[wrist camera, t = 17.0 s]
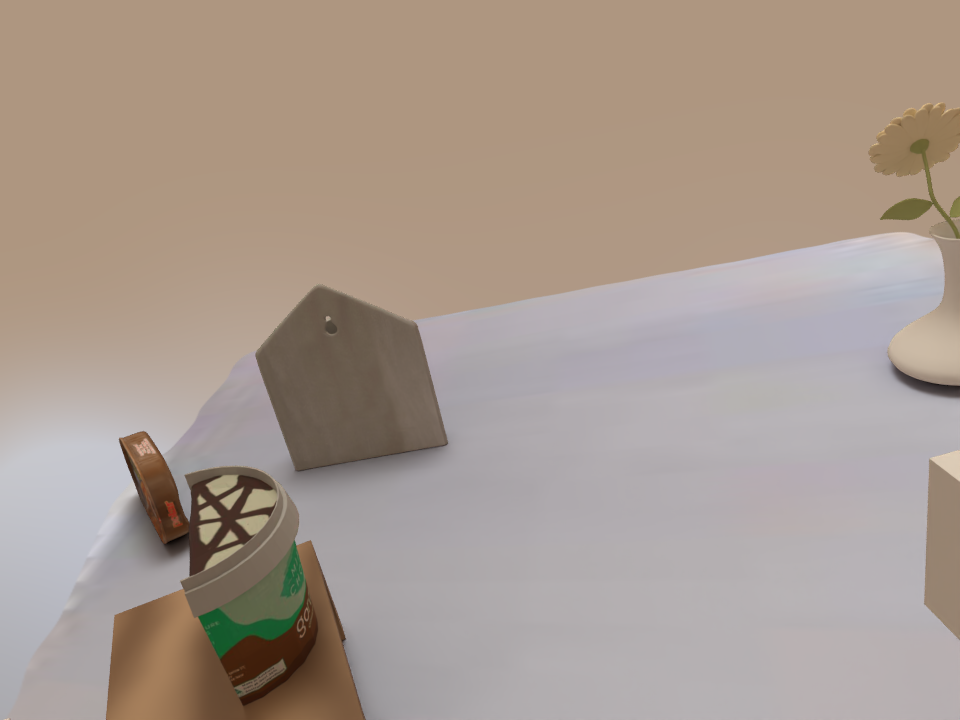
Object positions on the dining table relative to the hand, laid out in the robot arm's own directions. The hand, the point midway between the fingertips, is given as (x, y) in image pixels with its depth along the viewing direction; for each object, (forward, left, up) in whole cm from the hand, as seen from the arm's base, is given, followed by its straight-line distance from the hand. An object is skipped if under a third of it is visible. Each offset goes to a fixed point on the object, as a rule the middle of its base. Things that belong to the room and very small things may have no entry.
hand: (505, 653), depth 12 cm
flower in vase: (-56, -44, -34) cm, 80 cm away
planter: (-5, -69, -34) cm, 78 cm away
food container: (+6, -35, -26) cm, 44 cm away
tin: (+17, -68, -34) cm, 78 cm away
